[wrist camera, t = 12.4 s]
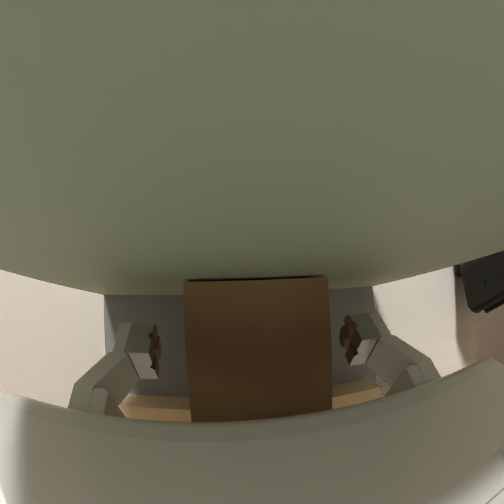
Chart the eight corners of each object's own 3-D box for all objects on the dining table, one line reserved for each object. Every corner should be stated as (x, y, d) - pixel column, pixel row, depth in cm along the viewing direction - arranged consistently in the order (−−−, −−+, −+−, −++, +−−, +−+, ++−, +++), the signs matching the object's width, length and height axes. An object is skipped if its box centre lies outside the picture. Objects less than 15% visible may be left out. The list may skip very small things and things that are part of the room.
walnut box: (284, 379, 16) (331, 422, 9) (204, 383, 16) (193, 435, 8) (281, 293, 18) (327, 277, 10) (200, 296, 17) (183, 281, 9)
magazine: (430, 16, 18) (613, 204, 4) (449, 27, 19) (617, 217, 4) (386, 111, 33) (457, 320, 18) (404, 118, 34) (477, 320, 19)
